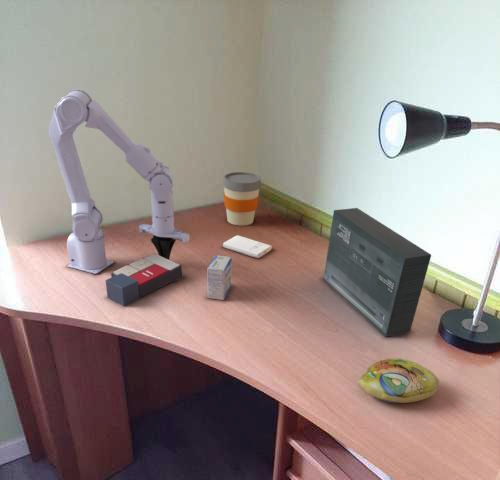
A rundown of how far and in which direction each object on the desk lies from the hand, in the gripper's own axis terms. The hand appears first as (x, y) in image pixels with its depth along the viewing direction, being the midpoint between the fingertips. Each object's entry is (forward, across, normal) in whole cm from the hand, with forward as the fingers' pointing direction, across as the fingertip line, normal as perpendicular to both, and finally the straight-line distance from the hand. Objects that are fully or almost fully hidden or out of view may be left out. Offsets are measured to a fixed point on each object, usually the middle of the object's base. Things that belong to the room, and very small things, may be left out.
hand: (165, 260), depth 137 cm
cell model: (+2, -68, +26) cm, 73 cm away
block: (+1, 0, +20) cm, 20 cm away
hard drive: (+2, -16, -21) cm, 27 cm away
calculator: (+2, -1, +10) cm, 10 cm away
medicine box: (+2, -20, +7) cm, 21 cm away
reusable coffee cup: (+2, -5, -41) cm, 42 cm away
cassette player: (+2, -55, -6) cm, 55 cm away
